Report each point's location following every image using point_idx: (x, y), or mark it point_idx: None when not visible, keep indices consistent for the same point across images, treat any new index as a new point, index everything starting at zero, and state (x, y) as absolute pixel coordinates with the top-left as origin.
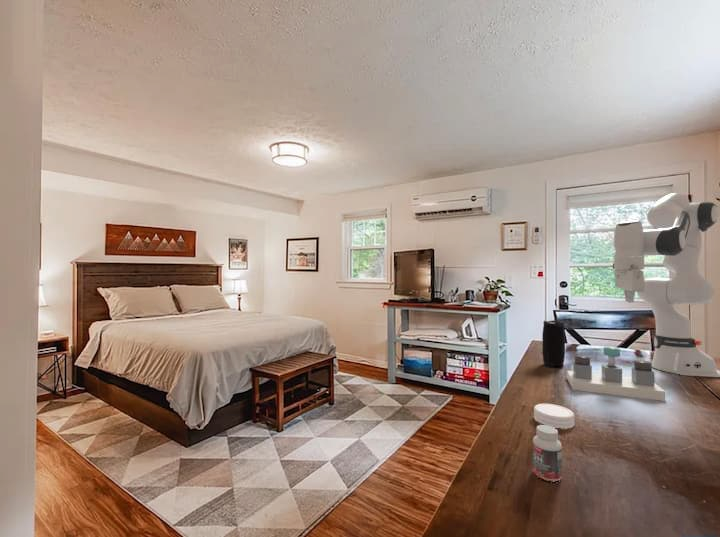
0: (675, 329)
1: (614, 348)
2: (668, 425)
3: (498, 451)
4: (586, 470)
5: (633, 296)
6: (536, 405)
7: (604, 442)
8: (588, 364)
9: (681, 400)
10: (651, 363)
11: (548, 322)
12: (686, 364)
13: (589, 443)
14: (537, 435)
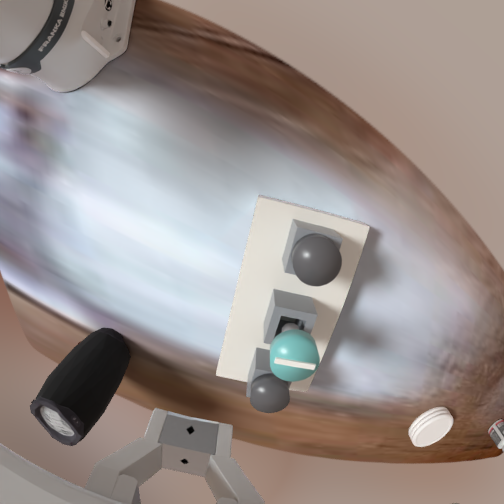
0: (27, 11)
1: (297, 356)
2: (463, 295)
3: (462, 451)
4: (500, 405)
5: (241, 473)
6: (418, 446)
7: (478, 386)
8: (286, 381)
9: (354, 179)
10: (334, 245)
11: (48, 424)
12: (107, 26)
13: (475, 398)
14: (501, 447)
